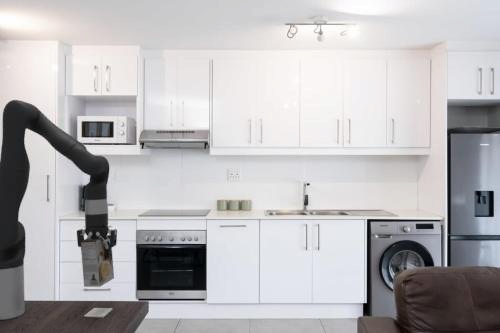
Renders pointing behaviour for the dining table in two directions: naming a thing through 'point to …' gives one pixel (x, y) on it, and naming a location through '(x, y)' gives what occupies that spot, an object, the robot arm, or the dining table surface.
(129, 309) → the dining table surface
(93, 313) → the coaster
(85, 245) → the coffee box
